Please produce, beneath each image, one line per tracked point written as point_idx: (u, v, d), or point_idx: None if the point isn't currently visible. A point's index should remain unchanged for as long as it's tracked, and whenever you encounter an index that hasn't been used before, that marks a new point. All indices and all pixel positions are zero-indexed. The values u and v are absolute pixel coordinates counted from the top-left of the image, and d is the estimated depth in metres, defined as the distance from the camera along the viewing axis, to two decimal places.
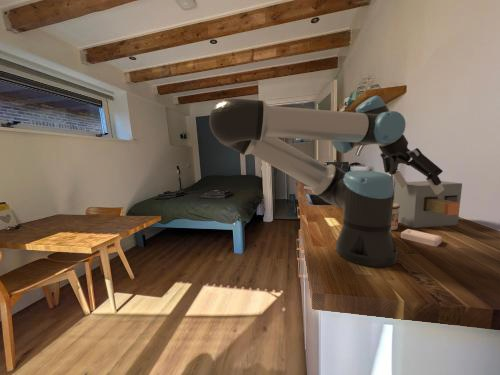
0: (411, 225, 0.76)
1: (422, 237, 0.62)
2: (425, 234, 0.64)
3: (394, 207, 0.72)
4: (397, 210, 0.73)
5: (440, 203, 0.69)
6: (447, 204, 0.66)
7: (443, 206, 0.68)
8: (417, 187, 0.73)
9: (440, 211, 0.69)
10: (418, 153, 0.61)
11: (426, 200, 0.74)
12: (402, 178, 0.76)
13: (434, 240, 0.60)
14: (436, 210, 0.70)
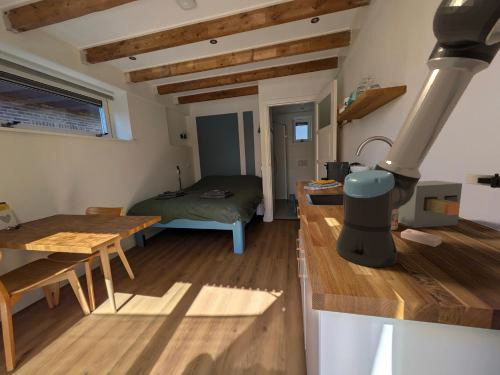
0: (411, 225, 0.76)
1: (421, 237, 0.62)
2: (425, 234, 0.64)
3: None
4: (397, 210, 0.73)
5: (440, 203, 0.69)
6: (447, 204, 0.66)
7: (443, 206, 0.68)
8: (417, 187, 0.73)
9: (440, 211, 0.69)
10: None
11: (426, 200, 0.74)
12: None
13: (433, 240, 0.60)
14: (436, 210, 0.70)
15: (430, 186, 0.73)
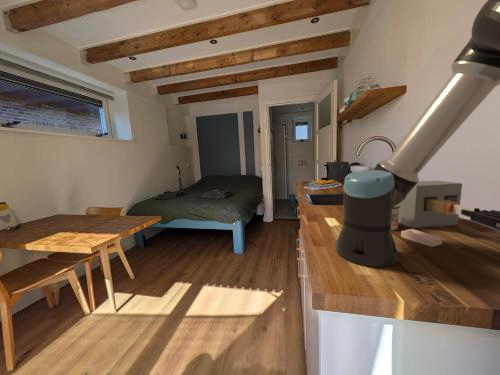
0: (411, 225, 0.76)
1: (419, 237, 0.63)
2: (426, 234, 0.64)
3: (394, 207, 0.72)
4: (397, 210, 0.73)
5: (438, 203, 0.69)
6: (445, 204, 0.67)
7: (441, 206, 0.68)
8: (417, 187, 0.73)
9: (438, 211, 0.69)
10: (497, 226, 0.52)
11: (425, 200, 0.74)
12: None
13: (430, 240, 0.60)
14: (435, 210, 0.71)
15: (430, 186, 0.73)
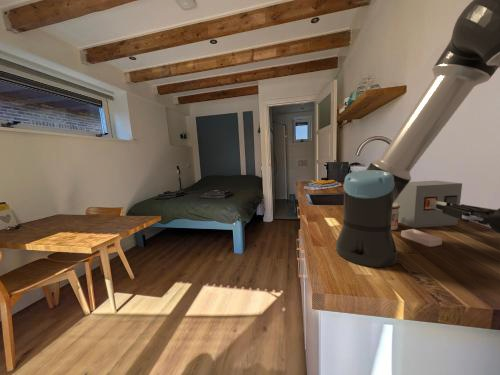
0: (411, 225, 0.76)
1: (418, 236, 0.63)
2: (426, 235, 0.64)
3: (394, 207, 0.72)
4: (397, 210, 0.73)
5: None
6: (424, 199, 0.74)
7: None
8: (417, 187, 0.73)
9: None
10: (462, 217, 0.59)
11: None
12: None
13: (428, 240, 0.60)
14: None
15: (430, 186, 0.73)
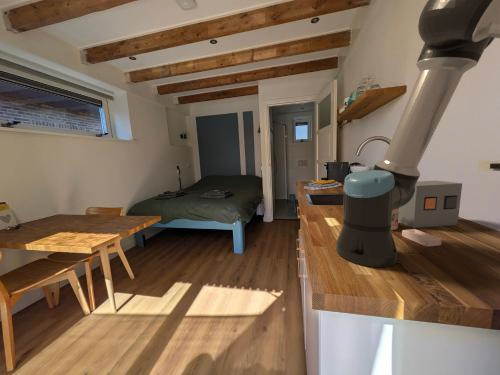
0: (411, 225, 0.76)
1: (417, 236, 0.63)
2: (426, 235, 0.64)
3: None
4: (397, 210, 0.73)
5: None
6: (424, 199, 0.74)
7: None
8: (417, 187, 0.73)
9: None
10: None
11: None
12: None
13: (425, 240, 0.60)
14: None
15: (430, 186, 0.73)
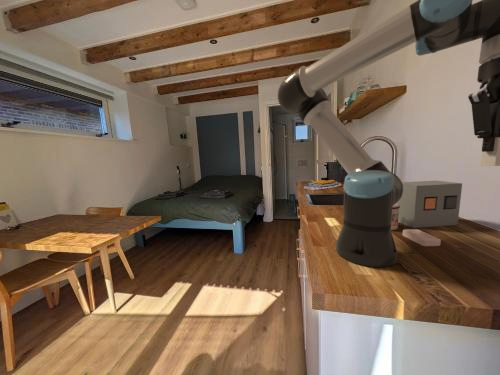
0: (411, 225, 0.76)
1: (415, 236, 0.63)
2: (426, 235, 0.64)
3: (394, 207, 0.72)
4: (397, 210, 0.73)
5: None
6: (424, 199, 0.74)
7: None
8: (417, 187, 0.73)
9: None
10: (479, 99, 0.45)
11: None
12: None
13: (423, 239, 0.61)
14: None
15: (430, 186, 0.73)
